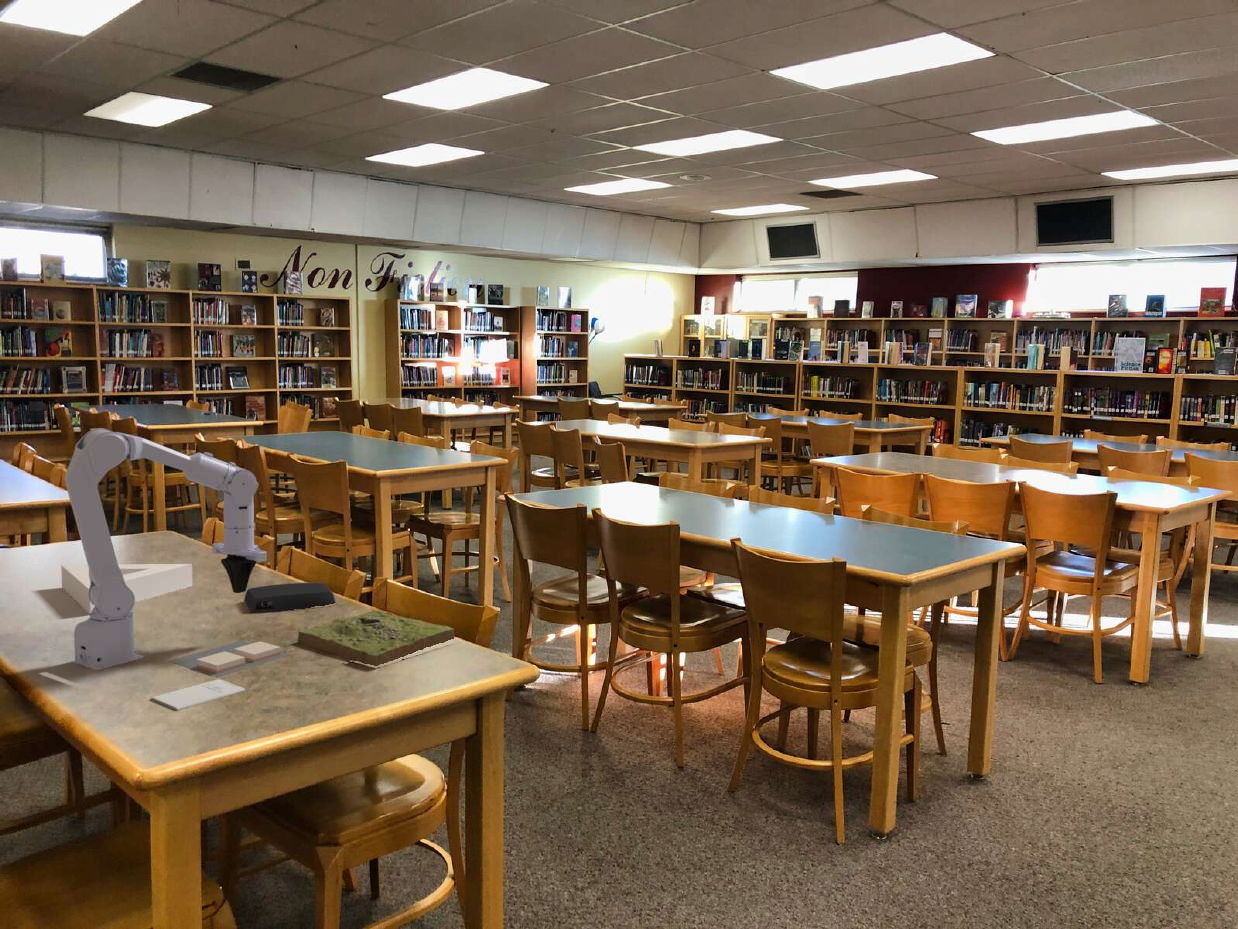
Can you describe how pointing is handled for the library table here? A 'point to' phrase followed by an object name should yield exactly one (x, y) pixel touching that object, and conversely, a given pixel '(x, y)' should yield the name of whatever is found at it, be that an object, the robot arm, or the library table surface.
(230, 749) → the library table surface
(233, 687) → the external hard drive
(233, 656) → the tile left
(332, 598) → the external hard drive
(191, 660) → the slate mat
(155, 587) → the triangle block
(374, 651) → the miniature landscape model
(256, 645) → the tile right
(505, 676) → the library table surface
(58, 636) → the library table surface
